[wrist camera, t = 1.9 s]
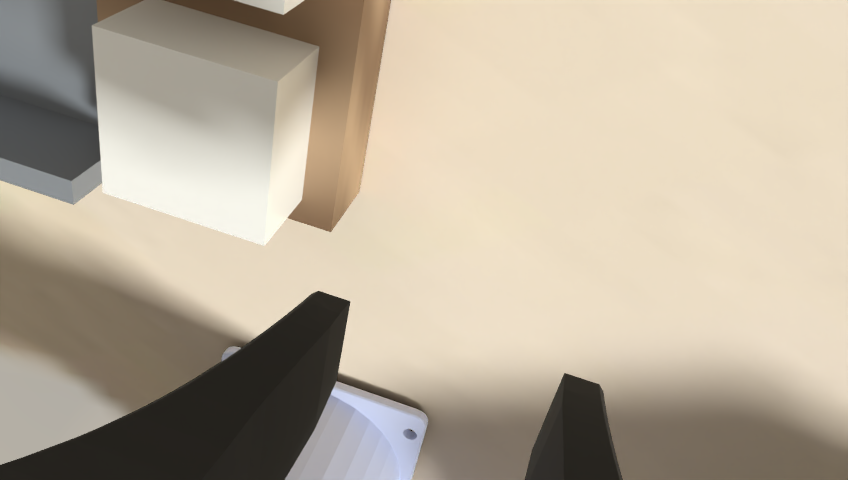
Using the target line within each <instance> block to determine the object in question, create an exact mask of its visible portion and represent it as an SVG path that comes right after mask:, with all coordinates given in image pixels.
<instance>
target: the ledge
mask: <svg viewBox="0 0 848 480" xmlns="http://www.w3.org/2000/svg"><path fill="white" fill-rule="evenodd" d="M141 1H144V0H97V16H98V22H100V21H102V20H104V19H106V18H108V17H110V16H112V15H114V14H116V13H118V12H121V11H123V10H125V9H127V8H129V7H131V6H133V5H135V4H137V3H139V2H141ZM164 1H167V2H170V3H174V4H177V5H181V6H184V7H187V8H191V9H194V10H197V11H201V12H204V13H208V14H211V15H214V16H218V17H221V18H225V19H228V20H231V21H235V22H238V23H242V24H245V25H248V26H252V27H255V28H258V29H262V30H265V31H269V32H272V33H275V34H279V35H282V36H286V37H289V38H292V39H296V40H299V41H303V42H306V43H309V44H313V45H316V46H319V55H318V63H317V72H316V81H315V90H314V98H313V107H312V116H311V125H310V133H309V142H308V151H307V160H306V168H305V177H304V186H303V195H302V200H301V202H300V203H299V204H298V205H297V206H296V208H295V209H294V210H293V211H292V213H291V214H290V215H289V216H288V218H289V219H292V220H295V221H298V222H301V223H305V224H308V225H311V226H314V227H317V228H320V229H323V230H326V231H329V232H331V231H332V230H333V228H334V227H335V225H336V224H337V222H338V221H339V220H340V218H341V217H342V215H343V214H344V213H345V211H346V210H347V208H348V207H349V205H350V204H351V203H352V201H353V200H354V198H355V197H356V195H357V194H358V193H359V190H360V184H361V178H362V172H363V166H364V160H365V154H366V148H367V142H368V136H369V130H370V124H371V118H372V112H373V105H374V99H375V93H376V87H377V81H378V75H379V69H380V63H381V57H382V51H383V45H384V39H385V33H386V27H387V21H388V15H389V9H390V3H391V0H304V1H303V2H301V3H300V4H299V5H297V6H296V7H294V8H293V9H291V10H290V11H288V12H287V13H286V14H284V15H282V14H279V13H275V12H272V11H268V10H265V9H262V8H258V7H255V6H251V5H248V4H244V3H241V2H238V1H234V0H164Z"/></svg>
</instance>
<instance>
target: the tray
mask: <svg viewBox="0 0 848 480" xmlns="http://www.w3.org/2000/svg"><path fill="white" fill-rule="evenodd" d="M96 23H98V16H97V0H0V180H1V181H4V182H7V183H10V184H13V185H16V186H19V187H22V188H25V189H28V190H31V191H34V192H37V193H40V194H43V195H46V196H49V197H52V198H55V199H58V200H61V201H64V202H67V203H70V204H73V205H74V204H75V203H76V202H78V201H79V200H80V199H82V198H83V197H84V196H86V195H87V194H88V193H90V192H91V191H92V190H93V189H95V188H96V187H97V186H99V185H100V184H101V183H102V171H101V156H100V141H99V126H98V112H97V97H96V82H95V67H94V52H93V38H92V25H93V24H96Z"/></svg>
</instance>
